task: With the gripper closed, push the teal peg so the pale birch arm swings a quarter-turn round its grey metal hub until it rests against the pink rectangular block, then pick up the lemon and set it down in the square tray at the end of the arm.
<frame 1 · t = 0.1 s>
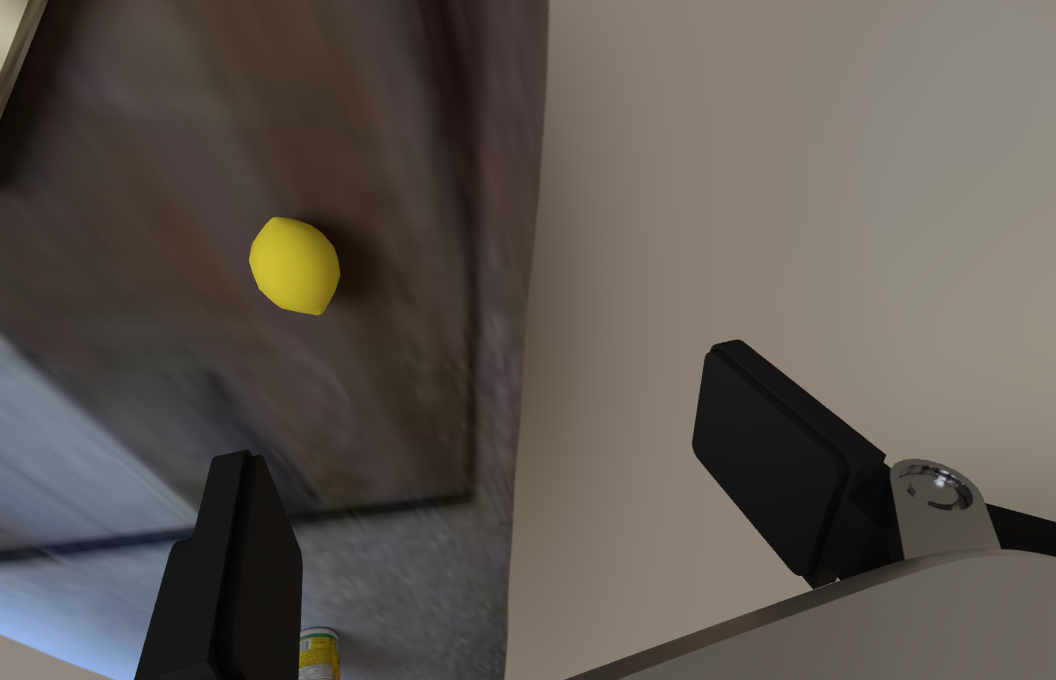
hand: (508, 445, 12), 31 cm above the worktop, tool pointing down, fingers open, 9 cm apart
lemon: (298, 252, 39), on the worktop
supplement bottle: (312, 640, 60), on the worktop
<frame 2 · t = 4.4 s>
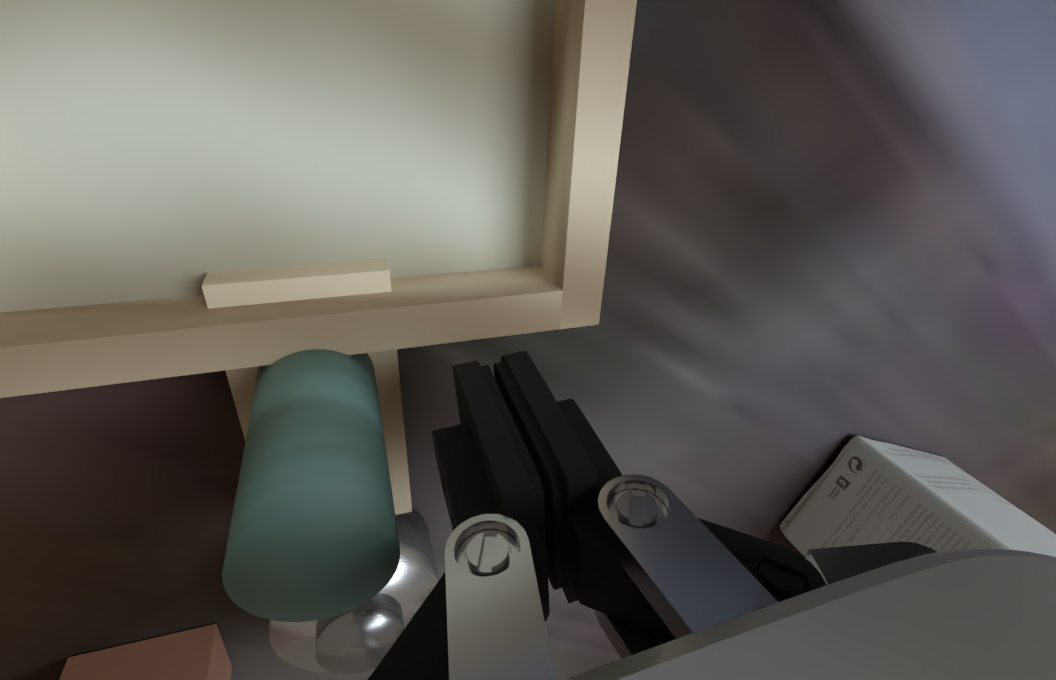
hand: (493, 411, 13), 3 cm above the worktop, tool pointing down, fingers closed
pink rectangular block: (155, 662, 18), on the worktop
hub: (355, 551, 18), on the worktop
skincare box: (863, 485, 26), on the worktop
arm: (273, 202, 9), point 4 cm above the worktop, hinge at 0.9°, touching gripper
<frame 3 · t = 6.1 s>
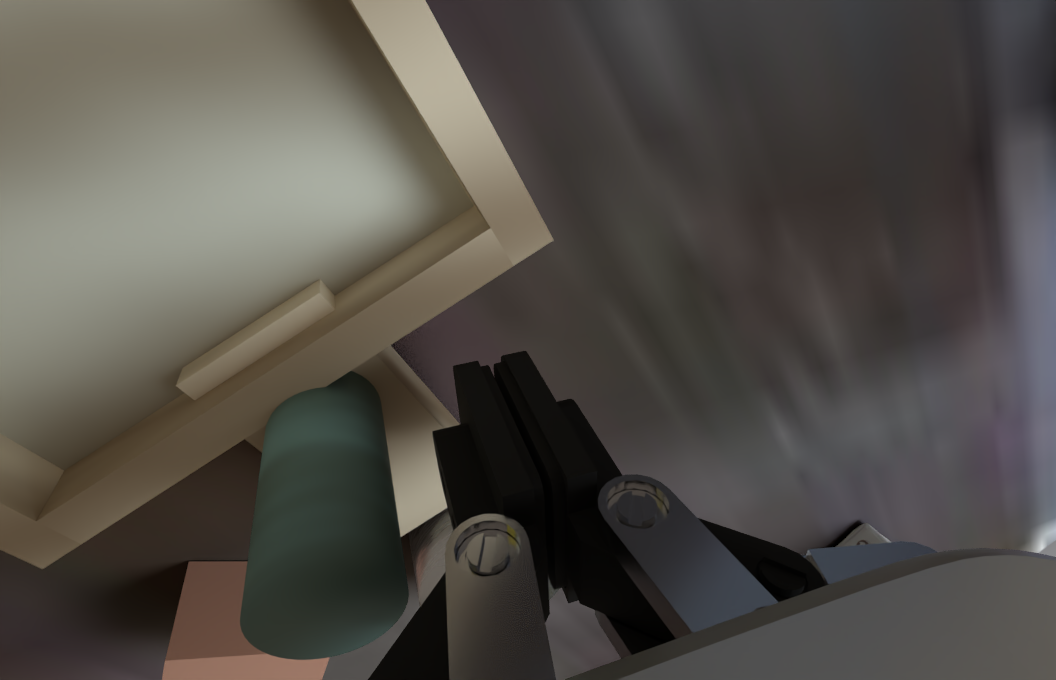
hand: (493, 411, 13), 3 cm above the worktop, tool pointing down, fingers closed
pink rectangular block: (257, 587, 18), on the worktop
hub: (479, 520, 19), on the worktop
skincare box: (847, 569, 30), on the worktop
arm: (136, 307, 9), point 4 cm above the worktop, hinge at 49.9°, touching gripper
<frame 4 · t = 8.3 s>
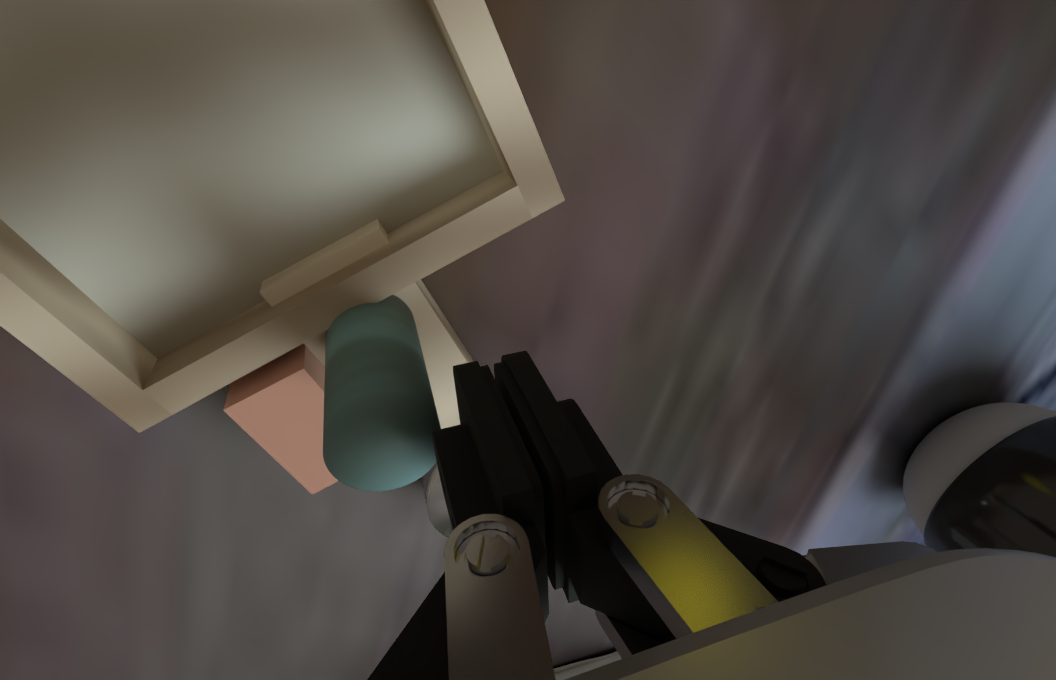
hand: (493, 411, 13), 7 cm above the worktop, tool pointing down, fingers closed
pink rectangular block: (311, 377, 18), on the worktop
hub: (479, 451, 22), on the worktop
arm: (258, 215, 12), point 4 cm above the worktop, hinge at 91.4°, touching pink rectangular block
grey dome gadget: (943, 441, 33), on the worktop
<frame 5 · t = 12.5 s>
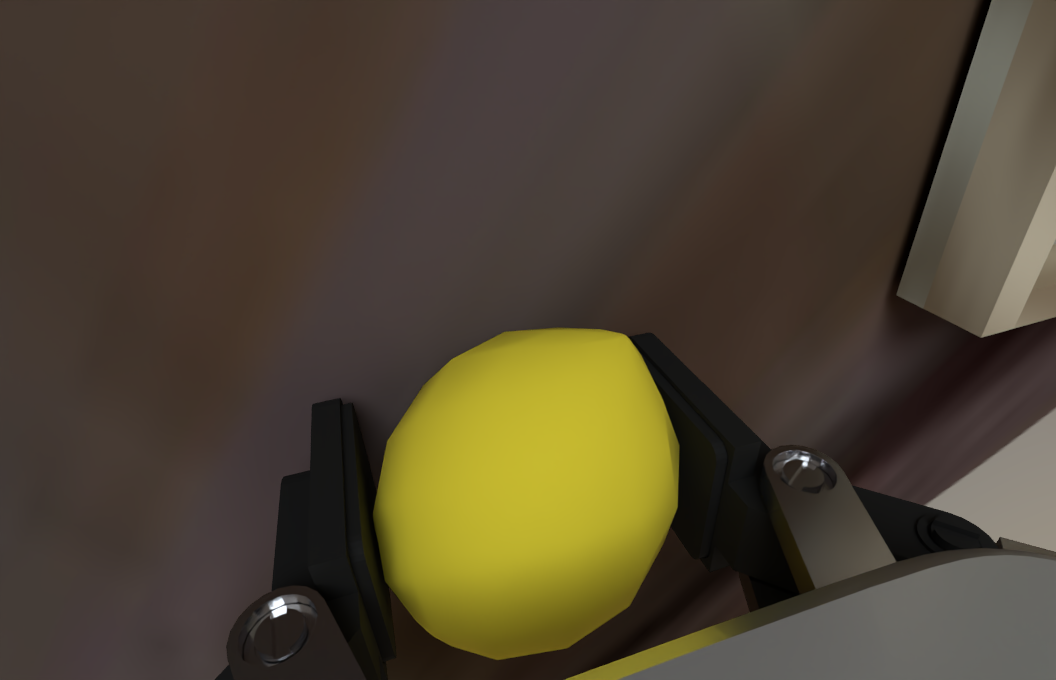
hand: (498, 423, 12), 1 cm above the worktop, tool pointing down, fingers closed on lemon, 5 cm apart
lemon: (487, 402, 13), on the worktop, touching gripper
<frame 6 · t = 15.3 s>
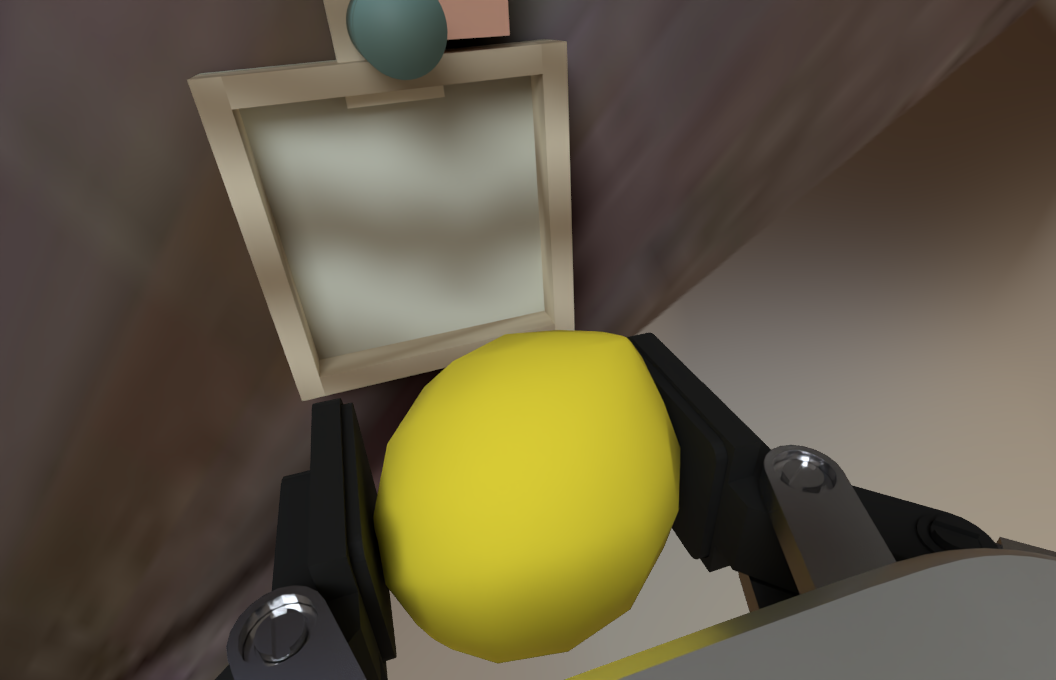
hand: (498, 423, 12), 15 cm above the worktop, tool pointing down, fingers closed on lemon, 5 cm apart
lemon: (487, 404, 13), point 14 cm above the worktop, touching gripper
arm: (414, 171, 20), point 4 cm above the worktop, hinge at 91.4°, touching pink rectangular block
when the fingers open (3 cm above the worktop, at t = 18.0 s): lemon drops 2 cm, resting on arm.
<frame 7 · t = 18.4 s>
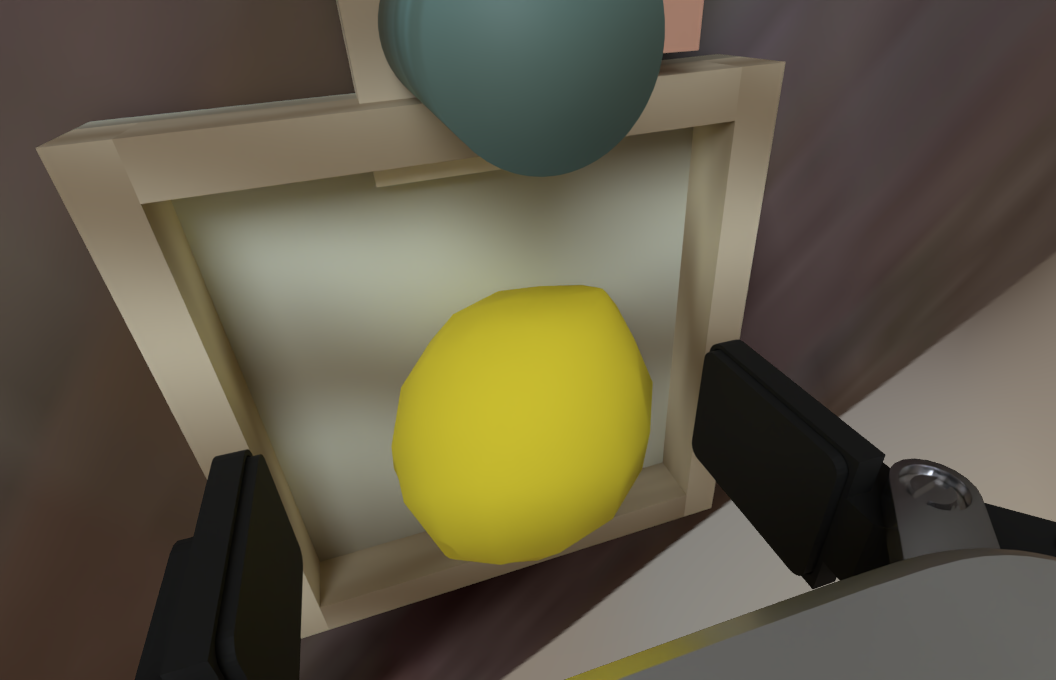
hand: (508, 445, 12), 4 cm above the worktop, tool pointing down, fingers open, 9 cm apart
lemon: (489, 360, 15), point 1 cm above the worktop, touching arm
arm: (501, 307, 11), point 4 cm above the worktop, hinge at 91.1°, touching lemon
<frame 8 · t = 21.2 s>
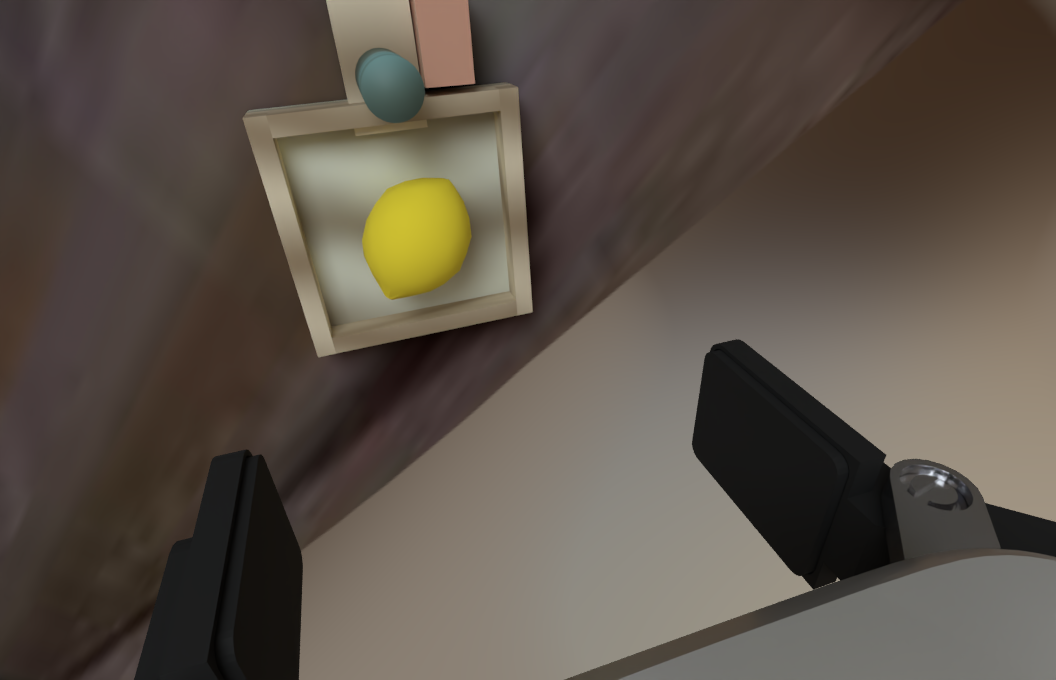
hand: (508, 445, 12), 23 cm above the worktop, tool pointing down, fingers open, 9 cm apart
lemon: (410, 222, 31), point 1 cm above the worktop, touching arm
pink rectangular block: (434, 35, 28), on the worktop
arm: (404, 182, 27), point 4 cm above the worktop, hinge at 91.1°, touching lemon
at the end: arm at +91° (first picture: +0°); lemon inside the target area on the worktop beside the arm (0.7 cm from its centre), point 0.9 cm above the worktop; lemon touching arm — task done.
